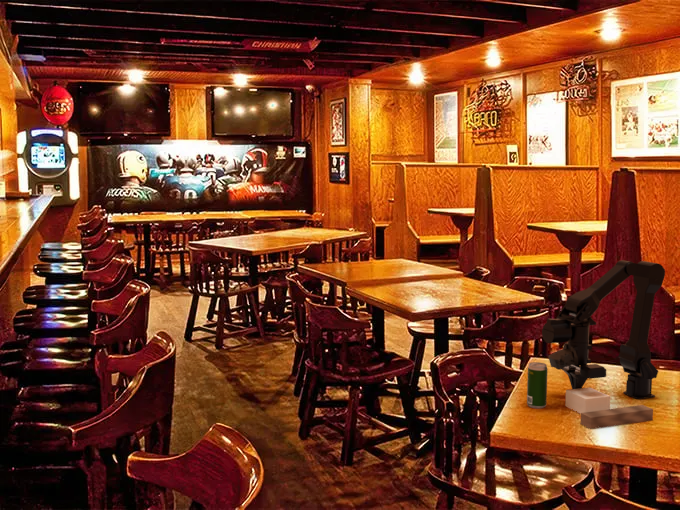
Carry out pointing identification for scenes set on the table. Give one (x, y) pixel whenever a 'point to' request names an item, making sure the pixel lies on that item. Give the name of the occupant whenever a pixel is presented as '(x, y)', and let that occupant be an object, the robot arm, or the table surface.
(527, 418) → the table surface
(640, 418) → the board
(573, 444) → the table surface
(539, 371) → the beer can
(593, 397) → the block
